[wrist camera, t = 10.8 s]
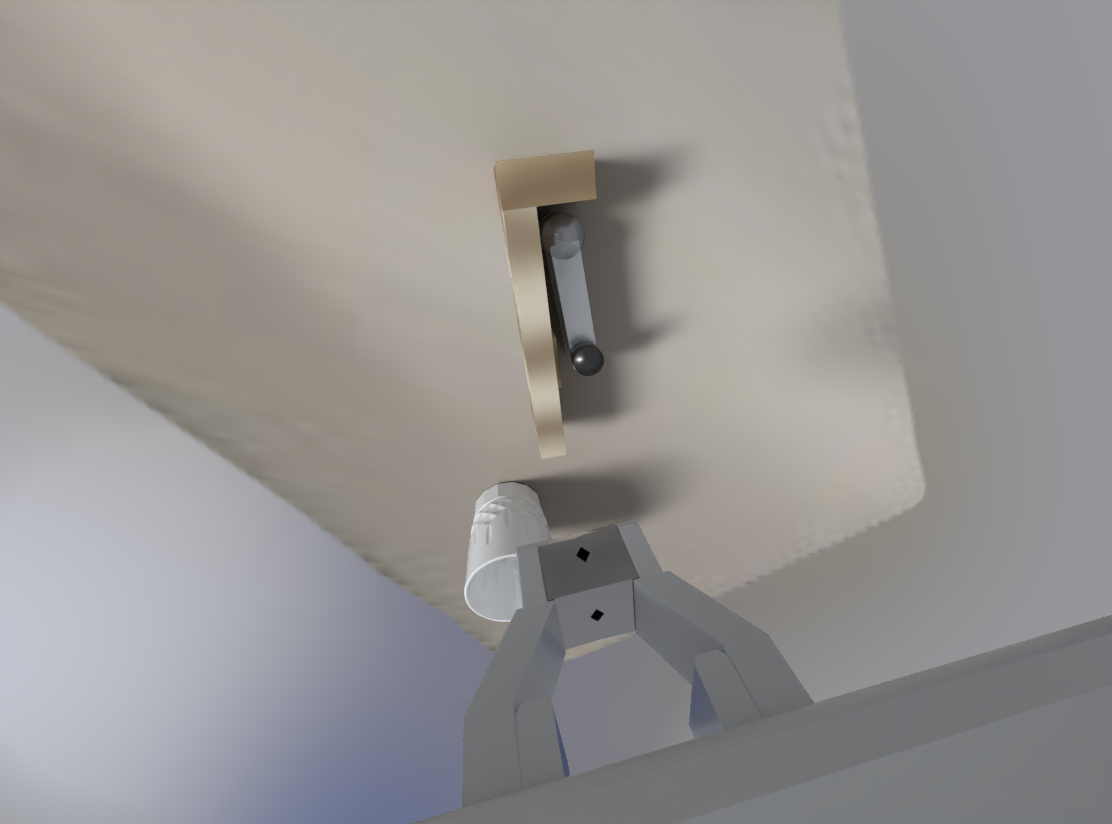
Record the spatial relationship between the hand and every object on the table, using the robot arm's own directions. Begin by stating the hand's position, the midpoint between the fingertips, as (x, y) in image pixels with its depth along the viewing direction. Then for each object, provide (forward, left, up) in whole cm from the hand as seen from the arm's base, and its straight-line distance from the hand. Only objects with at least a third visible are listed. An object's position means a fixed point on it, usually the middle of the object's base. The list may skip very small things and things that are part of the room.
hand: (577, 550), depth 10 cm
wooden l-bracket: (0, +3, -25) cm, 25 cm away
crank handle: (-1, +4, -25) cm, 25 cm away
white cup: (+20, -4, -25) cm, 32 cm away
